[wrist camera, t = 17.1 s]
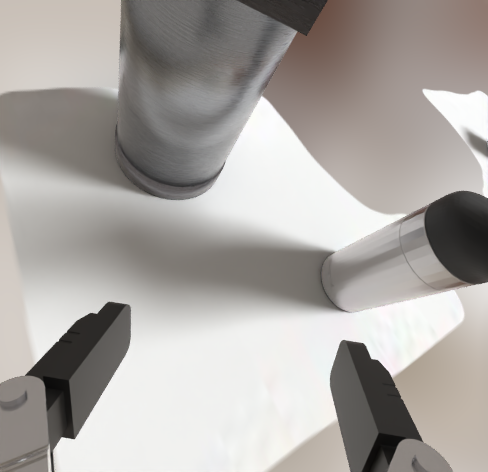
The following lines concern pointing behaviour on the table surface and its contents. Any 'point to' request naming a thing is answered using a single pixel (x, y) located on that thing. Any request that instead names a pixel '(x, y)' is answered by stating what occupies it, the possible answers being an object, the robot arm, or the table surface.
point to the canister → (189, 88)
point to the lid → (290, 11)
